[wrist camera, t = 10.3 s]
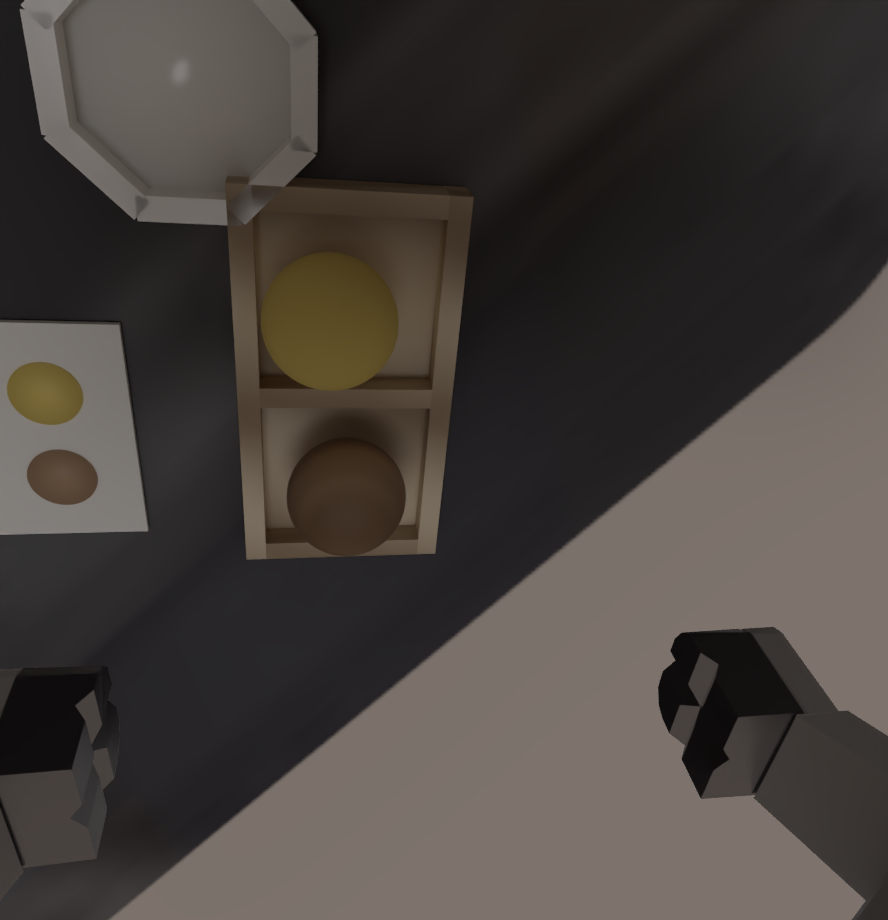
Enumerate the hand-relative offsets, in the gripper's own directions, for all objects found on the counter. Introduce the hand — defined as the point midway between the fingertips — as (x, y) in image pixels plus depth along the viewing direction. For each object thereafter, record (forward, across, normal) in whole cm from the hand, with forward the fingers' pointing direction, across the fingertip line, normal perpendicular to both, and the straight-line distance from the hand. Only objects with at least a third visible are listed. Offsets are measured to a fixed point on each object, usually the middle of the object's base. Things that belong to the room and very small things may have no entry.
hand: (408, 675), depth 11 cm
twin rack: (+16, 0, +4) cm, 16 cm away
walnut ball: (+16, 0, +7) cm, 17 cm away
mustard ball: (+16, 0, 0) cm, 16 cm away
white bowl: (+16, +4, -5) cm, 18 cm away
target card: (+16, +10, +6) cm, 19 cm away
